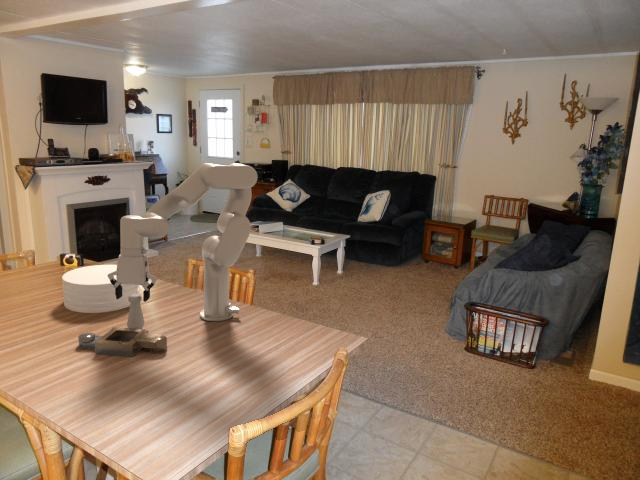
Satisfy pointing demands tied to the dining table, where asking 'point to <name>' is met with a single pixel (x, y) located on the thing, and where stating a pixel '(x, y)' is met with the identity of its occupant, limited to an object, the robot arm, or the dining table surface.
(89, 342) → the lower end link
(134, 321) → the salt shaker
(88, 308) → the plate stack
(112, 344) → the upper end link
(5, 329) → the dining table surface
